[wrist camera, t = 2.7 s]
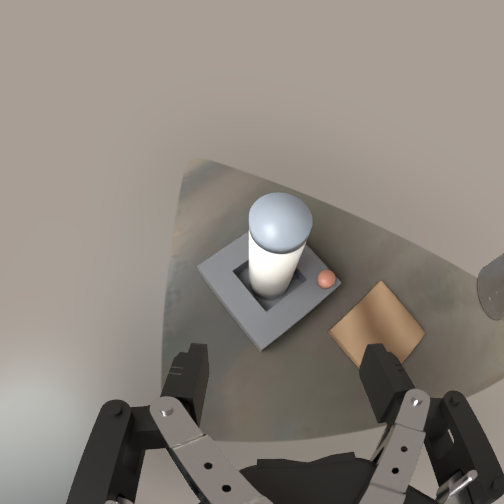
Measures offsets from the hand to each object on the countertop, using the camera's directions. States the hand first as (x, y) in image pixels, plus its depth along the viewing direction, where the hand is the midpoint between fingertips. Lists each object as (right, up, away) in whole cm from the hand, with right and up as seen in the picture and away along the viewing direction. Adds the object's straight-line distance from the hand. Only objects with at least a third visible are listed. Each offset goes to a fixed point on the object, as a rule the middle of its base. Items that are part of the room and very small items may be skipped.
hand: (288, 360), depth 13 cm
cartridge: (0, +2, +18) cm, 18 cm away
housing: (0, +2, +19) cm, 19 cm away
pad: (+13, -4, +16) cm, 21 cm away
